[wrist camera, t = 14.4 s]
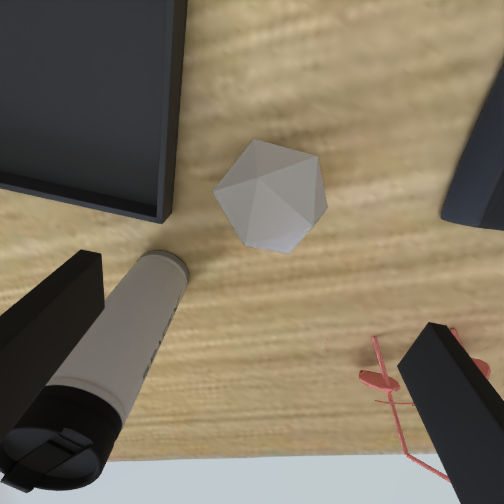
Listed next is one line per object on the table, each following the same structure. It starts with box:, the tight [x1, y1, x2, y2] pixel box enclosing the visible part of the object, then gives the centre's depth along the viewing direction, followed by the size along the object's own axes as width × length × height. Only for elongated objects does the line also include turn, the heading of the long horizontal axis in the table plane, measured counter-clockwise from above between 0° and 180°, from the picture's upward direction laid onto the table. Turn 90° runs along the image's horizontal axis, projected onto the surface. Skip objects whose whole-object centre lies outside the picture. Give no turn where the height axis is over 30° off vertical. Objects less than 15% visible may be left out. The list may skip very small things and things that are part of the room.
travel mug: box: [0, 251, 189, 493], centre depth 24 cm, size 6×7×20 cm
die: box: [212, 139, 328, 254], centre depth 23 cm, size 8×9×10 cm
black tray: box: [0, 0, 188, 224], centre depth 23 cm, size 23×18×3 cm
